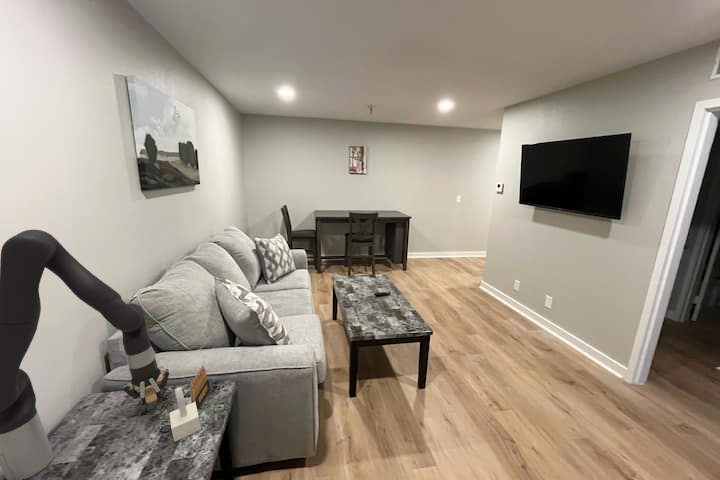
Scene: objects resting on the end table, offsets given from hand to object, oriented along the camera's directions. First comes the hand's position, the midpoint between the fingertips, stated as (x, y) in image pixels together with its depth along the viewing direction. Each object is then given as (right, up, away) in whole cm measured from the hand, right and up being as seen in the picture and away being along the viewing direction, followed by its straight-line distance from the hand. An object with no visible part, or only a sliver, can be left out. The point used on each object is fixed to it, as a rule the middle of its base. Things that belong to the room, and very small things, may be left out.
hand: (153, 401), depth 107 cm
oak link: (-3, +3, +4) cm, 6 cm away
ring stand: (+13, -8, -2) cm, 16 cm away
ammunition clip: (+12, -5, +10) cm, 17 cm away
